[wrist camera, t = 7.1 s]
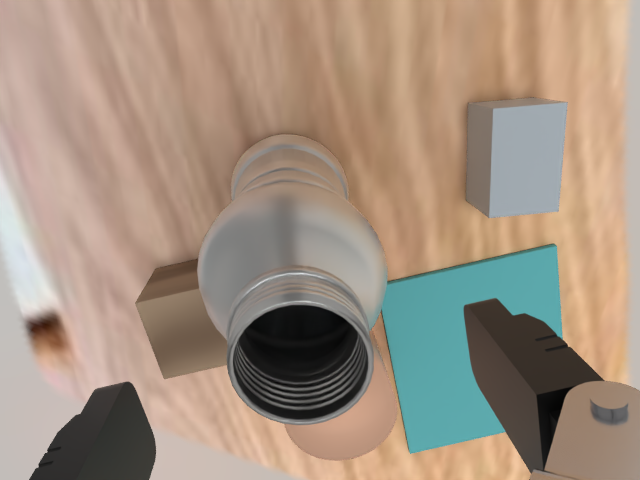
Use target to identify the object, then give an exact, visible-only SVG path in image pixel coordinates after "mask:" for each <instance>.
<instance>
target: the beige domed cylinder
mask: <svg viewBox="0 0 640 480" xmlns="http://www.w3.org/2000/svg"><path fill="white" fill-rule="evenodd" d="M369 336H370V339H371V342H372V347H373V351H374V370H373V374H372V378H371V382H370V384H369V386H368V388H367V390H366V392H365V393H364V395H363V396H362V397H361V399H360V400H359V401H358V402H357V403H356V404H355V405H354V406H353V407H352V408H351V409H349V410H348V411H347V412H345V413H343V414H342V415H340V416H338V417H336V418H334V419H331V420H328V421H326V422H322V423H317V424H312V425H292V424H285V428H286V431H287V433H288V435H289V437H290V438H291V440H292V441H293V442H294V443H295V444H296V445H297V446H298V447H299V448H300V449H301V450H303V451H304V452H306V453H308V454H310V455H312V456H314V457H317V458H321V459H326V460H348V459H353V458H356V457H359V456H362V455H364V454H366V453H368V452H370V451H372V450H373V449H375V448H376V447H378V446H379V445H380V444H381V443H382V442H383V441H384V440H385V439H386V438H387V437H388V435H389V434H390V432H391V431H392V429H393V427H394V424H395V421H396V417H397V402H396V398H395V395H394V392H393V389H392V386H391V383H390V380H389V377H388V374H387V371H386V369H385V366H384V363H383V360H382V357H381V354H380V351H379V348H378V345H377V342H376V339H375V336H374V333H373V331H372V329H371V330H370V333H369Z"/></svg>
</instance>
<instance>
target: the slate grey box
mask: <svg viewBox="0 0 640 480" xmlns="http://www.w3.org/2000/svg"><path fill="white" fill-rule="evenodd" d="M567 103H568V102H561V101H554V100H548V99H541V98H534V97H532V98H521V99H509V100H497V101H485V102H473V103H468V124H467V171H466V201H467V202H469V203H470V204H471V205H473V206H474V207H475V208H477V209H478V210H479V211H481V212H482V213H483V214H485V215H486V216H487V217H489V218H495V217H505V216H516V215H526V214H537V213H548V212H558V211H559V199H560V187H561V175H562V163H563V151H564V139H565V127H566V115H567Z"/></svg>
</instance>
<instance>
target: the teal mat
mask: <svg viewBox="0 0 640 480" xmlns="http://www.w3.org/2000/svg"><path fill="white" fill-rule="evenodd" d="M492 298H497V299H498V300H499V301H500V302H501V303H502V304H503V305H504V306H505V307H506V308H507V310H508V311H509V312H510V313H511V314H512V315H518V314H522V313H526V314H528V315H530V316H533V317H535V318H537V319H539V320H542V321H544V322H545V323H546V324H547V325H548V326H549V327H550V328H551V329H552V330H553V331H554V332H555V333H556V334H557V336H558V337H560V338H561V339H562V340H563V338H562V322H561V307H560V291H559V275H558V259H557V246H556V245H555V244H551V245H546V246H542V247H538V248H533V249H529V250H524V251H520V252H516V253H511V254H507V255H503V256H498V257H494V258H490V259H485V260H481V261H476V262H472V263H468V264H463V265H459V266H455V267H450V268H446V269H442V270H437V271H433V272H428V273H424V274H420V275H415V276H411V277H407V278H402V279H398V280H394V281H389V282H387V288H386V292H385V296H384V300H383V305H382V309H381V311H382V316H383V321H384V326H385V331H386V336H387V341H388V346H389V351H390V357H391V362H392V367H393V372H394V377H395V382H396V387H397V392H398V397H399V402H400V407H401V412H402V417H403V422H404V428H405V433H406V438H407V443H408V448H409V452H410V454H411V453H415V452H420V451H424V450H429V449H433V448H437V447H442V446H446V445H451V444H455V443H459V442H464V441H468V440H472V439H477V438H481V437H486V436H490V435H494V434H499V433H503V432H506V431H505V430H504V428H503V426H502V425H501V423H500V422H499V420H498V418H497V417H496V415H495V413H494V412H493V410H492V408H491V407H490V405H489V404H488V402H487V400H486V399H485V397H484V395H483V394H482V392H481V390H480V389H479V387H478V385H477V383H476V380H475V377H474V374H473V371H472V367H471V363H470V356H469V349H468V342H467V335H466V327H465V320H464V311H463V310H464V305H466V304H471V303H475V302H479V301H484V300H488V299H492Z"/></svg>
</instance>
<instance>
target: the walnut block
mask: <svg viewBox="0 0 640 480" xmlns="http://www.w3.org/2000/svg"><path fill="white" fill-rule="evenodd" d="M197 267H198V259H196V260H191V261H187V262H183V263H178V264H174V265H170V266H165V267H161V268H157V269H155V271H154V273H153V274H152V276H151V278H150V279H149V281H148V283H147V284H146V286H145V288H144V289H143V291H142V293H141V294H140V296H139V298H138V299H137V301H136V303H135V304H136V307H137V309H138V312H139V314H140V317H141V320H142V322H143V325H144V328H145V330H146V333H147V336H148V338H149V341H150V343H151V346H152V349H153V351H154V354H155V357H156V359H157V362H158V365H159V367H160V370H161V372H162V375H163V378H164V379H167V378H172V377H176V376H180V375H185V374H189V373H194V372H198V371H202V370H207V369H211V368H215V367H220V366H224V365H227V358H226V355H227V348H228V345H227V340H226V339H225V338H224V337H223V335H222V334H221V333H220V332H219V331H218V330H217V329H216V327H215V325H214V324H213V322H212V320H211V319H210V317H209V315H208V313H207V310H206V307H205V304H204V301H203V298H202V295H201V292H200V289H199V283H198V274H197Z"/></svg>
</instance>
